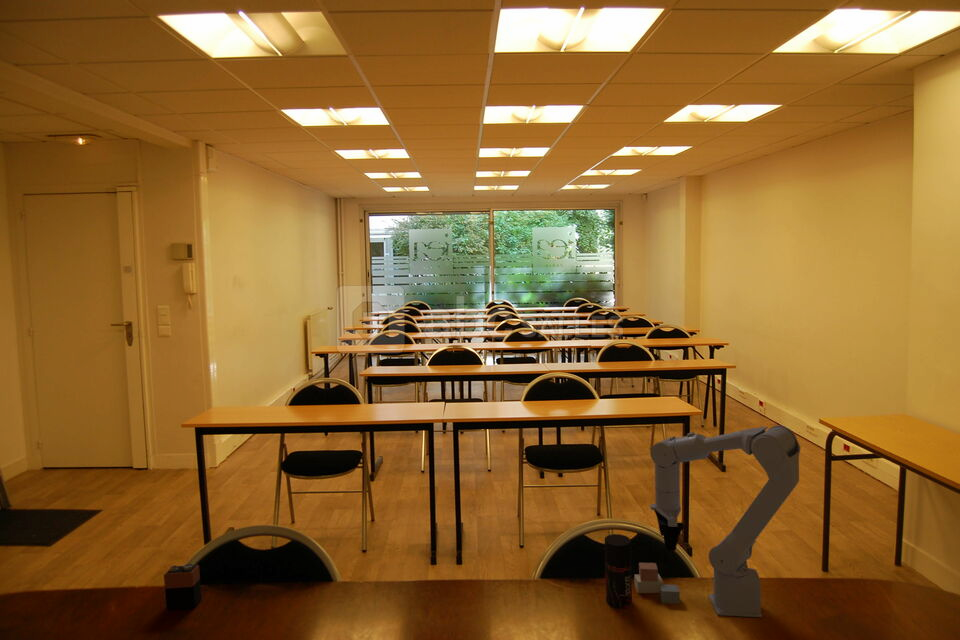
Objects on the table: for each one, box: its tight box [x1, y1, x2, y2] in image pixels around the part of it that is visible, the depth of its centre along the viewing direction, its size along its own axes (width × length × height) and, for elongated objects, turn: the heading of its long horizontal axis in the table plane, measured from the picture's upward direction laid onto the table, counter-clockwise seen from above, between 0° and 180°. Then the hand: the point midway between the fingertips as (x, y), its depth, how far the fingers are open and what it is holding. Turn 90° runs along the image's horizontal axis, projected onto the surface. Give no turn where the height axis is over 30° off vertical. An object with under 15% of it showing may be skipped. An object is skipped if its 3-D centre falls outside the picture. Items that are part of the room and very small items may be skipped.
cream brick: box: [633, 573, 664, 594], centre depth 138 cm, size 6×4×3 cm, turn 88°
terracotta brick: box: [638, 562, 659, 581], centre depth 138 cm, size 4×3×3 cm
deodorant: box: [604, 533, 633, 610], centre depth 133 cm, size 6×6×15 cm
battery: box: [163, 563, 203, 611], centre depth 139 cm, size 4×7×10 cm, turn 93°
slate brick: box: [659, 583, 681, 605], centre depth 133 cm, size 4×3×3 cm
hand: (667, 542), depth 140 cm, fingers open, 7 cm apart
